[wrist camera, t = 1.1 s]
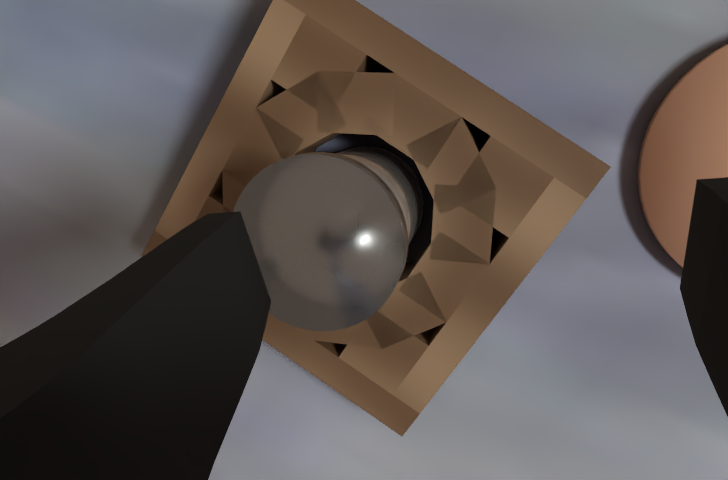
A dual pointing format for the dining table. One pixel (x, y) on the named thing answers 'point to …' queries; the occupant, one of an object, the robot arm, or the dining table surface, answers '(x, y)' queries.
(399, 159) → the end cover
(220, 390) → the robot arm
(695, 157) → the dish
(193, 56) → the dining table surface
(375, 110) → the housing
